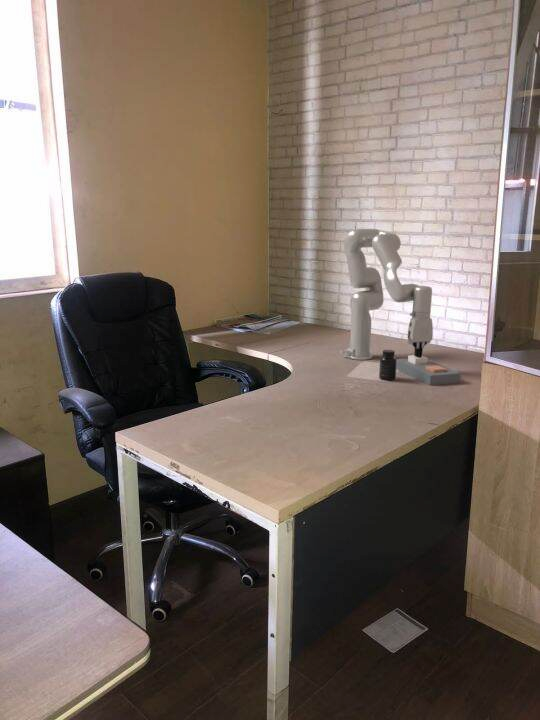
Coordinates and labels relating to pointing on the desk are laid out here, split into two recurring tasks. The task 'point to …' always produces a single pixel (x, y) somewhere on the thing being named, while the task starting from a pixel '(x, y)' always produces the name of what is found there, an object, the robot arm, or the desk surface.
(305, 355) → the desk surface
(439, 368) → the terracotta key
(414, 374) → the key panel
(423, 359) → the off-white key
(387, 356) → the supplement bottle
